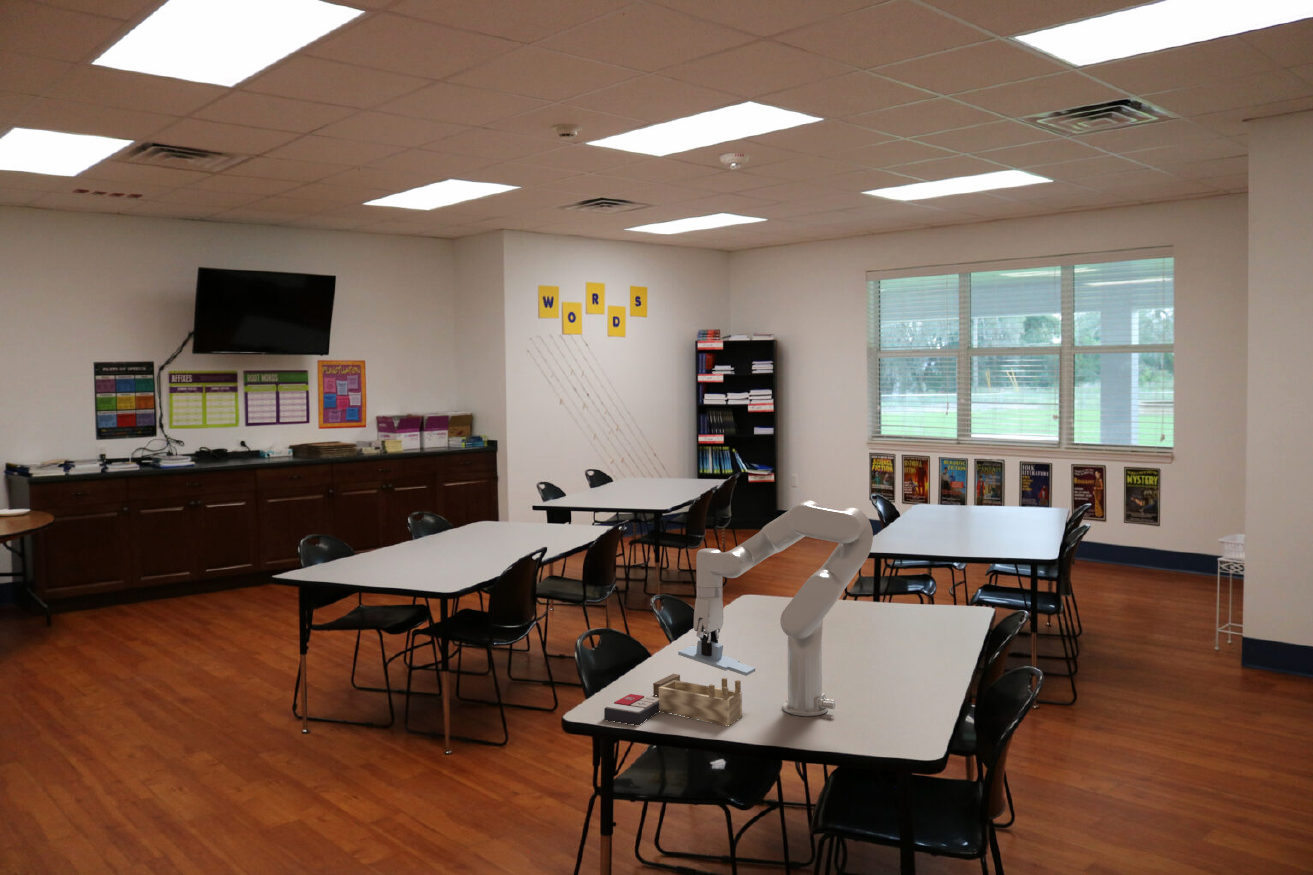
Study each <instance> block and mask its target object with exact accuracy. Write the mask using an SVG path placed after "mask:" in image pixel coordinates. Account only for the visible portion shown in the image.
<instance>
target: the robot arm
mask: <svg viewBox="0 0 1313 875" xmlns="http://www.w3.org/2000/svg"><path fill="white" fill-rule="evenodd" d="M873 532H874V531H873V528H872V524H871V522H870V519H869V517H868V516H867V514H865V513H864V511H862V510H861V509H859V508H857V507H847V508H846V507H845V508H843V509H842V510H835V509H828V508H822V506H821V505H820V504H819V503H817V502H816V501H814V500H804V501H801V502H800V503H798V504H796V505H794V506H793V507H791V508H790V509H789V510H786V512H784V513H782V514H781V515H780V516H778V517H777V518H775V519H773V520H772V521H770V522H768V523H767V524H766V525H764V526H763V527H762V528H761V529H760V531H759V532H757V533H755V535H753V536H751V537H749V538H748V539H747V540H745V541H743V542H742V543H740V544H739V545H737V546H736V547H734V548H732V549H730V550H728V551H725V552H722V551H721V550H720V549H718V548H710V547H709V548H708V547H707V548H701V549H699V550H698V551H697V552H696V557H695V558H696V559H695V560H696V564H695V565H696V598H695V603H694V612H693V631H695V632H696V637H698V638H699V640H700V641H701V654H702V655H704V656H709V657H710V656H712V643H711V642H710V641H712V642H715V643H718V644H719V638H720V632H721V630H722V628H723V626H724V601H723V577H724V578H729V579H735V578H738V577H740V576H742V575H743V574H745V573H746V572H747V571H749V570H751V569H752V568H753V567H755V566H757V565H758V564H760V563H762V561H764V560H766V559H767V558H769V557H771V556H773V555H775V554H778V553H781V552H783V551H784V550H785V549H788V548H789V547H791V546H793V545H794V544H795V543H797V542H799V541H800V540H801V539H804V538H805V537H808V538H813V539H816V540H820V541H821V540H822V541H827V542H832V543H837V546H836V547H835V549H834V550H833V551H832V552H831V554H830V555H829V557H828V558H827V559H826V561H825V562H824V563H823V564H822V566H820V567H819V569H818V570H817V571H815V572H814V573H813V574H811V576H809V577H808V578H807V580H805V582H804V583H803V584H802V586H801V588H799V590H798V591H797V592H796V594H795V595H794V596H793V598H792V599H791V600H790V601H789V603H788V604H787V605H786V607H785V608H784V609H783V611H782V613H781V615H780V617H779V618H780V623H779V624H780V628H781V630H782V632H783V633H784V635H786V636H787V656H786V657H787V700H785V701H783V702H782V706H781V707H782V710H783V711H784V712H786V713H787V714H790V715H794V716H798V717H799V716H800V717H814V716H815V717H816V716H820V715H823V714H825V713H827V712H828V710H829V709H830V710H835V709H836V702H835V700H834V699H828V698H827V696H826V692H823V657H822V656H823V628H824V627H823V626H824V618H825V617H826V616H827V614H829V612H830V611H831V610H832V608H833V607H834V605H835V604H836V603H837V602H838V601H839V599H840V598H841V596H842V595H843V592H845V589H846V588H847V586H848V585H849V584H850V583H851V581H852V580H853V578H854V577H855V576H856V575H857V573H858V572H859V571H860V569H861V567H863V565H864V564H865V562H866V561H867V559H868V557H869V555H870V552H871V550H872V547H873V540H874V535H873V534H874V533H873Z"/></svg>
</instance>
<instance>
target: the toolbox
mask: <svg viewBox="0 0 1313 875" xmlns="http://www.w3.org/2000/svg"><path fill="white" fill-rule="evenodd" d="M741 682H742V681H741V680H737V679H736V680H735V681H734V690H731V689H729V687H728V678H727V677H722V678H721V688H720V687H715V685H714V684H709V685H703V684H698V683H691V682H687V681H681V680H680V681H677V680H673V681H671V682H669V683H667V684H665V685H663V686H661V687H659V697H658V698H659V711H660V712H659V713H661V712H664V713H663V714H666V713H672V714H677V715H681V716H685V717H689V718H688V719H690V718H693V719H692V720H694V719H699V720H703V721H702V722H704V721H707V722H706V723H709V722H712V723H711V724H714V723H716V724H715V725H720V726H723V725H727V726H726V727H729V726H731V725H733V724H734V723H735V722H734V721H736V720H737V719H739V720H740V719H742V718H743V698H742V696H743V695H742V694H743V693H742V692H741V691H742V685H741ZM685 717H684V718H685ZM741 717H742V718H741ZM699 720H698V721H699ZM737 721H738V720H737ZM737 721H736V722H737ZM733 722H734V723H733ZM732 723H733V724H732ZM730 724H731V725H730ZM728 725H729V726H728Z"/></svg>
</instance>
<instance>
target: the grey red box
mask: <svg viewBox="0 0 1313 875" xmlns="http://www.w3.org/2000/svg"><path fill="white" fill-rule="evenodd" d="M603 709H604V711H603V712H604V713H603V714H604V716H603V717H604V718H603V719H604V720H603V721H605V720H608V721H607V722H610V721H615V722H614V723H616V722H621V723H620V724H622V723H627V724H626V725H628V724H634V725H633V726H635V725H640V724H641V723H643V722H644V721H645V720H646V719H648V720H649V719H651V718H652V717H651V716H653V715H654V714H655V713H657V714H659V713H660V712H659V697H656V696H648V695H647V696H645V695H641V694H635V693H630V694H629V693H628V694H627V695H625V696H623V697H622V698H619V699H617V700H615V701H614V702H613V703H611V704H609V705H607V706H606V707H604V708H603ZM658 712H659V713H658ZM654 716H655V715H654ZM654 716H653V717H654ZM650 717H651V718H650ZM644 723H645V722H644ZM644 723H643V724H644ZM640 726H641V725H640Z"/></svg>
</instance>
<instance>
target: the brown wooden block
mask: <svg viewBox="0 0 1313 875" xmlns="http://www.w3.org/2000/svg"><path fill="white" fill-rule="evenodd" d="M673 680H677V681H681V674H679V673H672V674H670V675H667V676H665V677H664V678H661V679H659V680H657V681H655V682H653V684H652V687H653V688H652V689H653V696H654V695H657V696H659V687H661V686H663V685H665V684H667V683H669V682H671V681H673ZM657 696H656V697H657Z"/></svg>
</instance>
